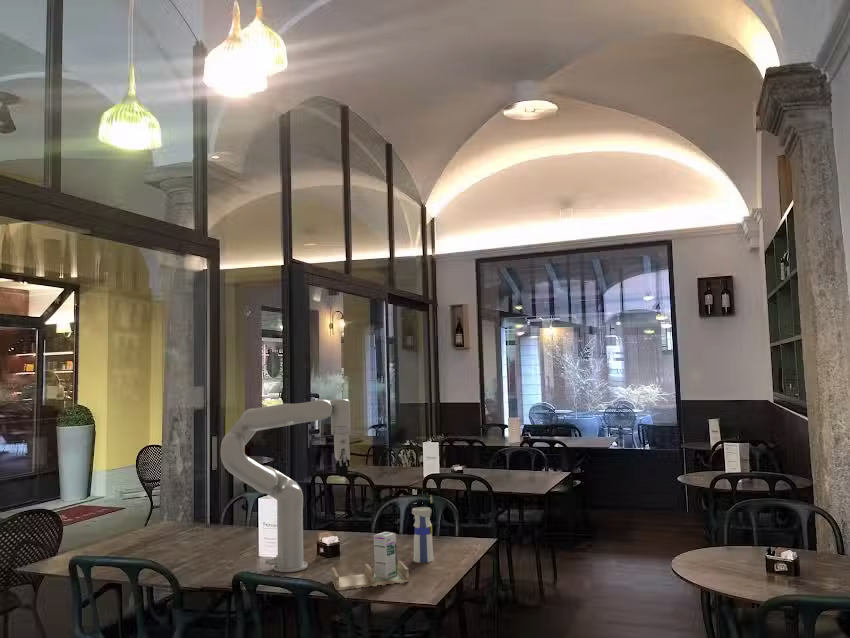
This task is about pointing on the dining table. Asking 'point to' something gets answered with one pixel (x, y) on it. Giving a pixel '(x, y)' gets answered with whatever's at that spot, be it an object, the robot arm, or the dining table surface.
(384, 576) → the syrup box
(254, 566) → the dining table surface
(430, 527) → the water bottle
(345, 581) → the slot rack
